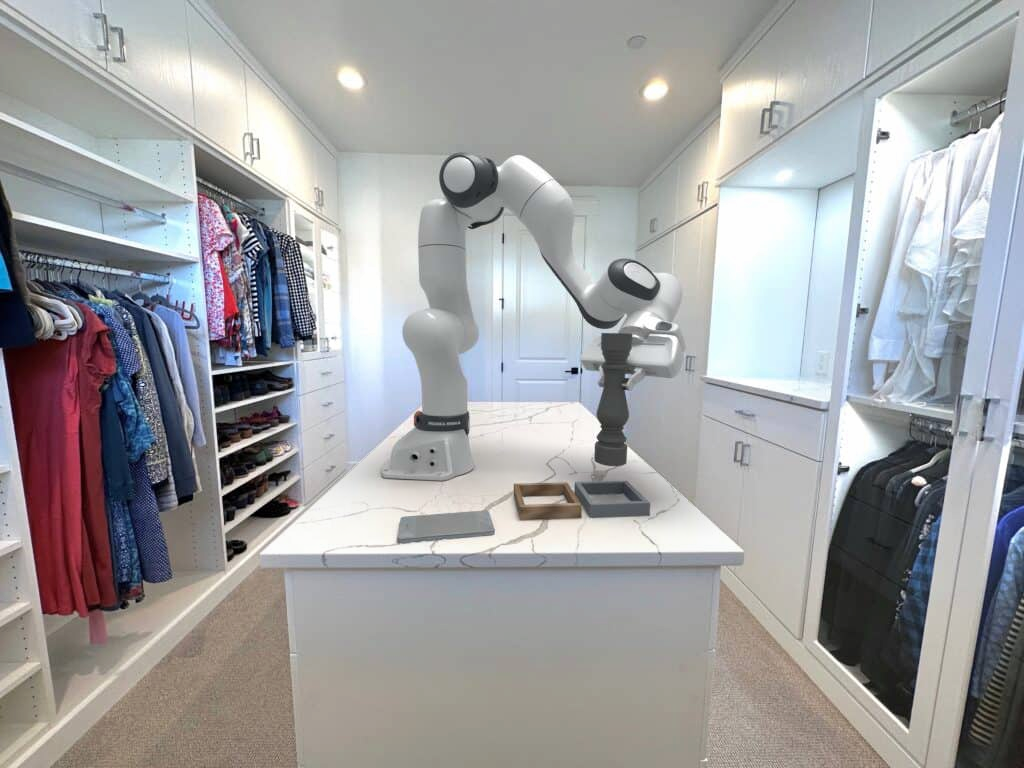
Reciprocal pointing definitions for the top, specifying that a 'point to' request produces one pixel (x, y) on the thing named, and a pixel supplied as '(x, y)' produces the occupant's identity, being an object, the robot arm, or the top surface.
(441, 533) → the phone
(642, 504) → the charcoal frame
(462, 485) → the top surface
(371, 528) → the top surface
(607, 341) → the candle holder
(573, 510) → the walnut frame
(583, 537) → the top surface
